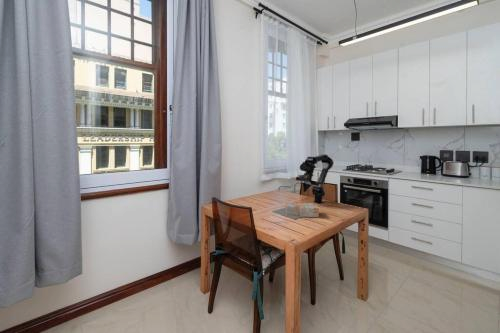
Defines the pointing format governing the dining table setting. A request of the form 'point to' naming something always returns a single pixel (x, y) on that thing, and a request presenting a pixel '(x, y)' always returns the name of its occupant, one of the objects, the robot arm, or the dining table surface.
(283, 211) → the mat
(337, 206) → the dining table surface
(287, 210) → the stack of blocks
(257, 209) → the dining table surface
